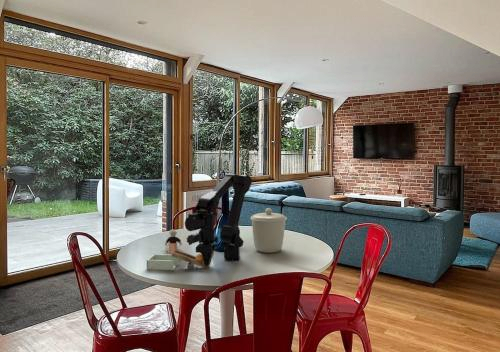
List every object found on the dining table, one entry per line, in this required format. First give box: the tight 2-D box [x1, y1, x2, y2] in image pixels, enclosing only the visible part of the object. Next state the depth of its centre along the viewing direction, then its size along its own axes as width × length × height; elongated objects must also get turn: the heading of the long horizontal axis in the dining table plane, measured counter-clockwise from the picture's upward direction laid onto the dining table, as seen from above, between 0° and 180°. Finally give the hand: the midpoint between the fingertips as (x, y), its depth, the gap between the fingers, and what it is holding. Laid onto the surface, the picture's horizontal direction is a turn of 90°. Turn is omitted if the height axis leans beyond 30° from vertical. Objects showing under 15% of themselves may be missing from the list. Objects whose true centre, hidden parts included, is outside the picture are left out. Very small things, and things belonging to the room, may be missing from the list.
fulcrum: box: [182, 262, 198, 271], centre depth 157 cm, size 5×6×2 cm
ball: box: [195, 253, 203, 262], centre depth 157 cm, size 4×4×4 cm
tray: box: [146, 253, 180, 271], centre depth 158 cm, size 11×9×4 cm
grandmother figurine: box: [164, 229, 183, 255], centre depth 174 cm, size 8×4×13 cm, turn 105°
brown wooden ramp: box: [172, 249, 214, 270], centre depth 157 cm, size 16×5×6 cm, turn 86°
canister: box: [250, 207, 288, 254], centre depth 184 cm, size 18×18×21 cm
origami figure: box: [164, 241, 182, 253], centre depth 188 cm, size 12×8×5 cm
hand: (207, 263), depth 157 cm, fingers closed on brown wooden ramp, 4 cm apart
